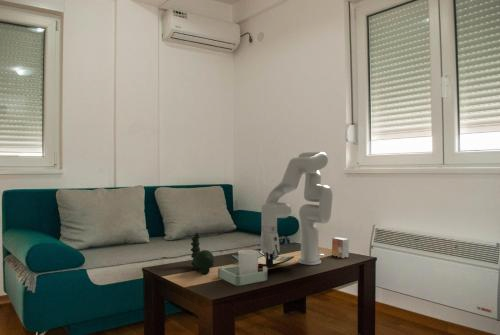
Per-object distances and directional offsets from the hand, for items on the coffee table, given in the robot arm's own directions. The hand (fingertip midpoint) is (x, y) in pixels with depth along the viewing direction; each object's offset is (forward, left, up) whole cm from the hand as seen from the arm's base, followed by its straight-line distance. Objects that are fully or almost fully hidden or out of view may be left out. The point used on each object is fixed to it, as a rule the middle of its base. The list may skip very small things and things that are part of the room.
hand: (269, 266), depth 189 cm
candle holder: (+12, 0, -3) cm, 13 cm away
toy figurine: (+25, -23, -4) cm, 34 cm away
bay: (+15, 0, -3) cm, 16 cm away
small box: (-57, -7, -3) cm, 57 cm away
